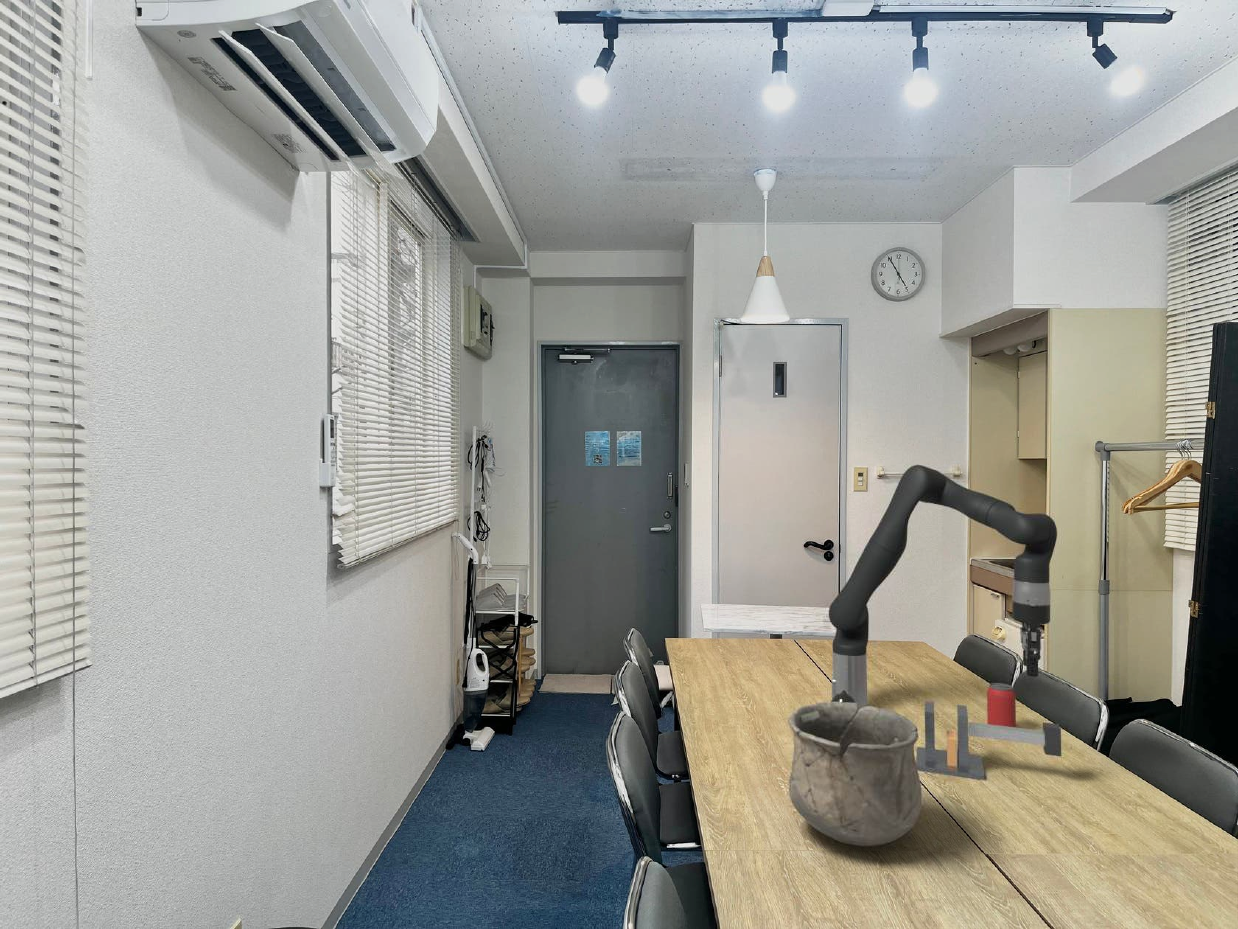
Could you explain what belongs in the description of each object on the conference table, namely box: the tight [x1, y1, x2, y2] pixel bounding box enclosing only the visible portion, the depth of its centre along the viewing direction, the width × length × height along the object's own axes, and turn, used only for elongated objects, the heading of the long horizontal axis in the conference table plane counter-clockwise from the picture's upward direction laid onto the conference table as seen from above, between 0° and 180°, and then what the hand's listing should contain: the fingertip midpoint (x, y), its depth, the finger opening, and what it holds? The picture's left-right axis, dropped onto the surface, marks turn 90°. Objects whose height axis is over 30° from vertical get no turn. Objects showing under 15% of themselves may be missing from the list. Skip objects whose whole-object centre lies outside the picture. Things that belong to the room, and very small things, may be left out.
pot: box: [787, 701, 923, 847], centre depth 133 cm, size 25×24×21 cm
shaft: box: [968, 721, 1062, 757], centre depth 158 cm, size 18×3×6 cm, turn 66°
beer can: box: [986, 682, 1017, 728], centre depth 183 cm, size 7×7×12 cm
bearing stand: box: [915, 700, 985, 781], centre depth 163 cm, size 14×12×13 cm
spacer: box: [946, 729, 958, 767], centre depth 163 cm, size 2×6×6 cm, turn 155°
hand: (1030, 671), depth 160 cm, fingers open, 8 cm apart
